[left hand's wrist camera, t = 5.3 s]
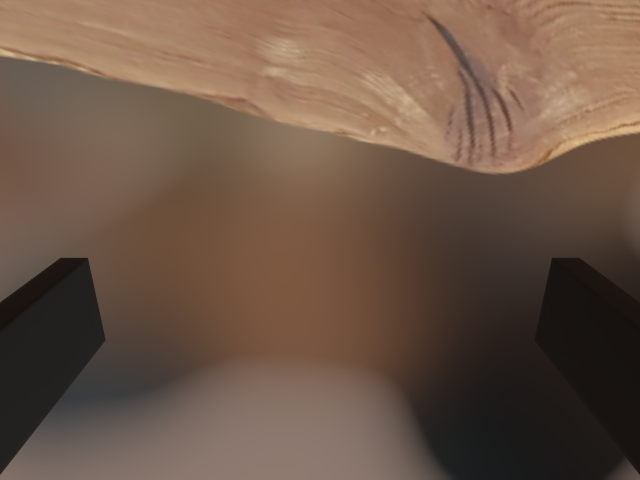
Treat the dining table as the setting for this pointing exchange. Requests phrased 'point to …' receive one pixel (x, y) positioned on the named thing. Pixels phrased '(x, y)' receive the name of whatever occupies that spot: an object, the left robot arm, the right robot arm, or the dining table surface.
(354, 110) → the dining table surface
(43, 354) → the left robot arm
